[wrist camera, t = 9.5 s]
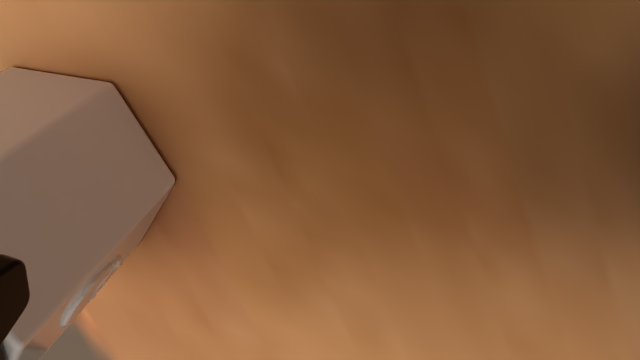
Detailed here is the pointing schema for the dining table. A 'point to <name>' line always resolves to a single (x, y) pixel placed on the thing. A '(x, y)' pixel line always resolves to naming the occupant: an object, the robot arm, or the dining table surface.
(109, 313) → the dining table surface
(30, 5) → the dining table surface
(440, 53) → the dining table surface
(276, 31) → the dining table surface
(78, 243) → the jar
